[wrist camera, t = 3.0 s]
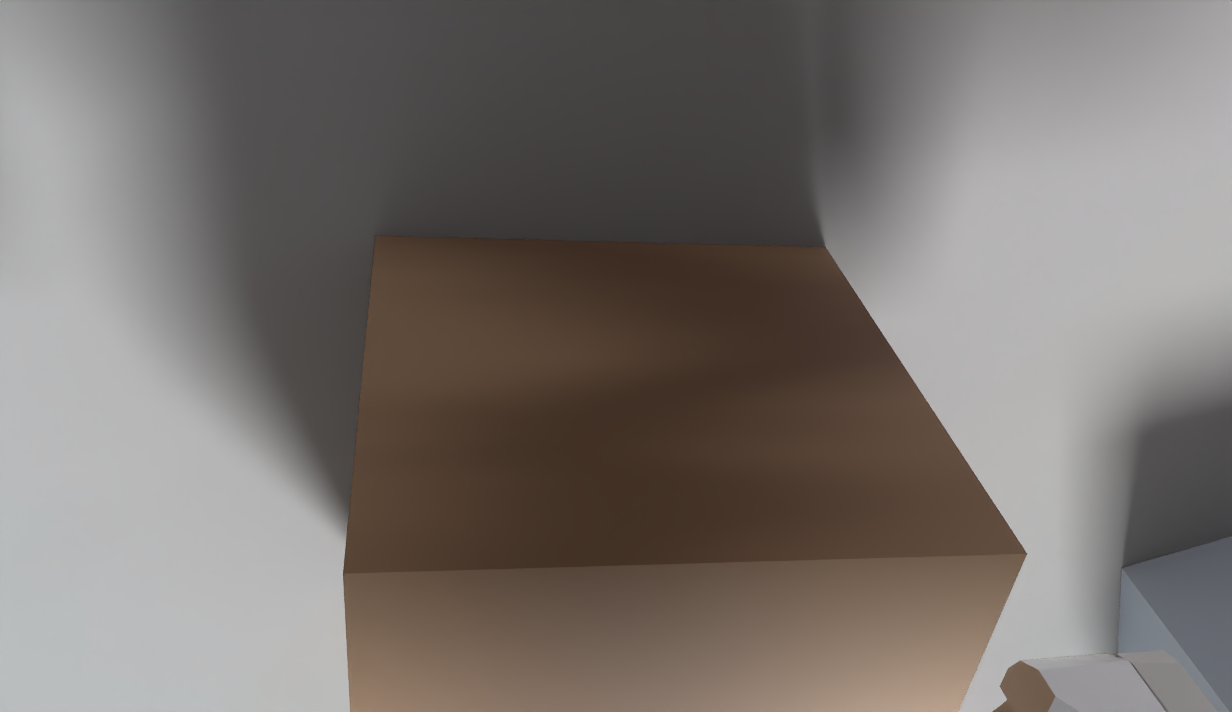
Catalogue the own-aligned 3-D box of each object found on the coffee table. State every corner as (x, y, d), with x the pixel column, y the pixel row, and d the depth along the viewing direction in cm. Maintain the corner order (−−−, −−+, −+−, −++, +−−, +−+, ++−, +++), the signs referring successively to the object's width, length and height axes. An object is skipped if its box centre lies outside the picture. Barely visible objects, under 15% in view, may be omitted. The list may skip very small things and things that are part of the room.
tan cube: (823, 243, 12) (1026, 553, 8) (747, 561, 15) (869, 913, 11) (376, 231, 11) (343, 574, 7) (383, 572, 14) (363, 961, 10)
